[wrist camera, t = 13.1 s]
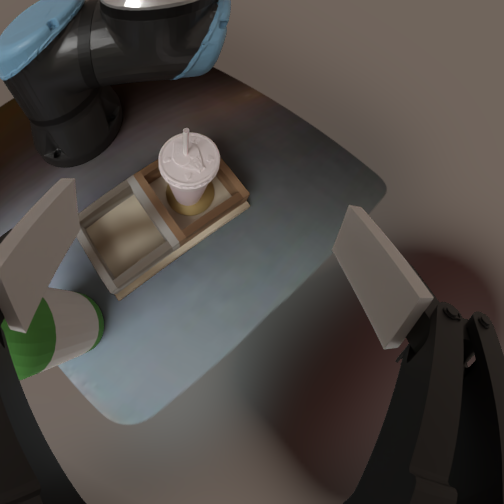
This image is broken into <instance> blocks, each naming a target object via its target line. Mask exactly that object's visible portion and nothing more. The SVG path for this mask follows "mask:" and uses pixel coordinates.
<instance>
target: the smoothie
mask: <svg viewBox="0 0 504 504" xmlns="http://www.w3.org/2000/svg"><path fill="white" fill-rule="evenodd" d="M158 161H159V170H160V173H161V175H162V177H163V178H164V179H165V181H166V182H168V184H169V186H170V188H171V190H172V192H173V194H174V197H175V199H176V200H177V201H178V202H179V203H180V204H182V205H185V206H191V205H194V204H196V203H197V202H198V201H199V200H200V199H201V197H202V195H203V193H204V191H205V189H206V187H207V185H208V183H209V182H211V181H212V179H213V178H214V177H215V176H216V174H217V172H218V170H219V165H220V154H219V150H218V148H217V146H216V145H215V143H214V142H213V141H212V140H211V139H209V138H208V137H206V136H204V135H202V134H199V133H193V132H189V129H188V128H184V129H183V133H181V134H178V135H176V136H174V137H172V138H170V139H169V140H168V141H167V142H166V143H165V144H164V145H163V147H162V148H161V150H160V153H159V159H158Z"/></svg>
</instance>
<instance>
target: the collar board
mask: <svg viewBox="0 0 504 504" xmlns="http://www.w3.org/2000/svg"><path fill="white" fill-rule="evenodd" d="M249 195H250V193H249V192H248V191H247V190H246V188H245V187H244V186H243V184H242V183H241V182H240V181H239V179H238V178H237V177H236V176H235V174H234V173H233V172H232V171H231V169H230V168H229V167H228V166H227V164H226V163H225V162H224V161H223V159H222V158H221V157H220V165H219V170H218V172H217V174H216V176H215V177H214V178H213V179H212V181H211V182H209V183H208V185H207V187H206V189H205V191H204V193H203V195H202V197H201V199H200V200H199V201H198V202H197V203H196V204H194V205H191V206H185V205H182V204H180V203H179V202H178V201H177V200H176V199H175V197H174V194H173V192H172V190H171V188H170V186H169V184H168V182H166V181H165V179H164V178H163V177H162V175H161V173H160V170H159V161H158V160H156V161H154V162H153V163H151V164H150V165H148V166H146V167H145V168H143V169H142V170H140V171H139V172H137V173H135V174H134V175H132V176H131V177H129V178H128V179H126V180H125V181H123V182H122V183H120V184H119V185H117V186H116V187H115V188H113V189H112V190H110V191H109V192H107V193H106V194H105V195H103V196H102V197H100V198H99V199H98V200H96V201H95V202H93V203H92V204H91V205H89V206H88V207H87V208H85V209H84V210H83V211H81V212H80V213H79V214H78V215H79V223H80V231H79V233H78V235H77V236H76V237H77V238H78V240H79V242H80V244H81V246H82V247H83V249H84V251H85V253H86V254H87V256H88V258H89V259H90V261H91V263H92V264H93V266H94V268H95V269H96V271H97V273H98V274H99V276H100V278H101V279H102V281H103V282H104V284H105V285H106V287H107V289H108V290H109V292H110V293H112V294H114V295H115V296H116V298H117V299H118V301H121V300H122V299H123V298H124V297H126V296H127V295H128V294H130V293H131V292H132V291H134V290H135V289H136V288H138V287H139V286H140V285H142V284H143V283H144V282H146V281H147V280H148V279H150V278H151V277H152V276H154V275H155V274H156V273H158V272H159V271H161V270H162V269H163V268H165V267H166V266H167V265H169V264H170V263H171V262H173V261H174V260H176V259H177V258H178V257H180V256H181V255H182V254H184V253H185V252H187V251H188V250H189V249H191V248H192V247H194V246H195V245H196V244H198V243H199V242H201V241H202V240H203V239H205V238H206V237H208V236H209V235H210V234H212V233H213V232H215V231H216V230H218V229H219V228H220V227H222V226H223V225H225V224H226V223H228V222H229V221H230V220H232V219H233V218H235V217H236V216H238V215H239V214H241V213H242V212H244V211H245V210H246V209H248V208H249V207H250V205H249V203H248V202H247V201H246V200H247V198H248V197H249Z"/></svg>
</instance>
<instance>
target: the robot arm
mask: <svg viewBox="0 0 504 504" xmlns="http://www.w3.org/2000/svg"><path fill="white" fill-rule="evenodd" d="M230 10H231V0H40V1H38V2H36V3H35V4H33V5H32V6H31V7H29V8H28V9H26V10H25V11H24V12H22V13H21V14H20V15H19V16H18V17H17V18H15V19H14V20H13V21H12V22H11V23H10V25H9V26H8V27H7V28H6V29H5V30H4V32H3V33H2V34H1V36H0V78H1V79H2V80H3V81H4V83H5V84H6V86H7V87H8V89H9V91H10V92H11V93H12V95H13V97H14V98H15V100H16V101H17V103H18V104H19V106H20V107H21V108H22V110H23V111H24V113H25V114H26V116H27V117H28V119H29V120H30V124H31V130H32V135H33V141H34V145H35V147H36V149H37V151H38V153H39V154H40V155H41V156H42V158H43V159H44V160H45V161H46V162H47V163H49V164H51V165H53V166H56V167H73V166H77V165H80V164H83V163H85V162H87V161H89V160H91V159H93V158H94V157H96V156H97V155H99V154H100V153H101V152H102V151H104V150H105V149H106V148H107V147H108V146H109V145H110V143H111V142H112V141H113V140H114V138H115V137H116V135H117V133H118V131H119V129H120V126H121V123H122V116H123V114H122V107H121V103H120V100H119V97H118V95H117V94H116V92H115V91H114V90H113V89H112V88H111V87H110V85H117V84H125V83H133V82H143V81H155V80H177V79H179V78H184V77H194V76H201V75H203V74H205V73H207V72H208V71H209V70H210V69H211V68H212V67H213V66H214V64H215V62H216V61H217V59H218V57H219V54H220V52H221V49H222V46H223V43H224V40H225V37H226V32H227V28H226V25H227V23H228V21H229V16H230ZM79 231H80V223H79V215H78V207H77V197H76V186H75V178H61V179H60V180H59V181H58V182H57V183H56V184H55V185H54V186H53V187H52V188H51V189H50V190H49V191H48V192H47V193H46V194H45V195H44V196H43V197H42V198H41V199H40V200H39V201H38V202H37V203H36V204H35V205H34V206H33V207H32V208H31V209H30V210H29V211H28V212H27V213H26V215H25V216H24V217H23V218H22V219H21V220H20V221H19V222H18V223H17V225H16V226H15V227H14V228H13V229H10V230H9V231H8V232H6V233H5V234H4V235H2V236H1V237H0V504H86V503H85V502H84V501H83V499H82V498H81V497H80V495H79V494H78V492H77V491H76V489H75V488H74V487H73V485H72V484H71V482H70V481H69V479H68V478H67V476H66V474H65V473H64V471H63V470H62V468H61V466H60V465H59V463H58V461H57V460H56V458H55V456H54V454H53V453H52V451H51V449H50V447H49V446H48V444H47V442H46V440H45V438H44V436H43V434H42V432H41V430H40V428H39V426H38V424H37V422H36V420H35V417H34V415H33V413H32V411H31V409H30V406H29V404H28V402H27V399H26V397H25V394H24V392H23V389H22V387H21V384H20V381H19V379H18V376H17V373H16V370H15V367H14V364H13V361H12V358H11V355H10V352H9V348H8V345H7V341H6V338H5V334H4V331H3V329H2V327H1V324H2V322H3V320H4V318H5V320H6V322H7V324H8V326H9V328H10V330H14V331H18V332H22V333H26V332H27V330H28V328H29V325H30V323H31V321H32V319H33V316H34V314H35V312H36V310H37V308H38V306H39V304H40V301H41V299H42V297H43V295H44V293H45V291H46V289H47V287H48V285H49V284H50V282H51V280H52V278H53V276H54V274H55V272H56V270H57V269H58V267H59V265H60V263H61V261H62V260H63V258H64V256H65V254H66V253H67V251H68V249H69V248H70V246H71V244H72V243H73V241H74V239H75V238H76V236H77V235H78V233H79ZM332 251H333V253H334V255H335V257H336V258H337V260H338V262H339V264H340V265H341V267H342V269H343V271H344V273H345V275H346V276H347V278H348V280H349V282H350V284H351V285H352V287H353V289H354V291H355V293H356V295H357V297H358V299H359V301H360V303H361V304H362V306H363V308H364V310H365V312H366V314H367V316H368V318H369V320H370V322H371V324H372V326H373V328H374V330H375V332H376V334H377V336H378V338H379V340H380V342H381V344H382V346H383V348H384V349H390V348H398V347H399V346H400V344H401V343H402V342H403V340H404V339H405V338H407V340H408V342H409V344H408V346H407V347H406V348H405V350H404V351H403V352H402V353H401V354H400V355H399V357H398V358H397V360H396V362H398V361H399V360H400V359H402V358H403V359H402V363H401V367H400V371H399V375H398V378H397V382H396V385H395V389H394V392H393V396H392V399H391V402H390V405H389V408H388V411H387V414H386V417H385V420H384V423H383V426H382V428H381V431H380V434H379V437H378V439H377V442H376V444H375V447H374V449H373V452H372V454H371V456H370V459H369V461H368V464H367V466H366V468H365V471H364V473H363V475H362V477H361V479H360V481H359V483H358V485H357V487H356V489H355V491H354V493H353V494H352V495H351V496H350V497H349V498H348V499H347V500H346V501H345V502H344V503H343V504H504V356H503V352H502V349H501V346H500V343H499V340H498V337H497V334H496V332H495V329H494V326H493V324H492V322H491V321H490V319H489V318H488V316H486V315H485V314H483V313H481V312H474V314H473V315H472V316H471V318H470V319H469V320H467V319H464V318H462V316H461V314H460V313H459V311H458V310H457V309H456V308H455V307H454V306H452V305H451V304H449V303H446V302H441V303H439V301H438V300H437V299H436V297H435V296H434V294H433V293H432V292H431V290H430V289H429V287H428V286H427V285H426V283H424V282H423V279H422V278H421V277H420V276H419V274H418V273H417V271H416V270H415V269H414V268H413V266H411V265H410V264H409V263H408V262H407V261H406V260H405V259H404V257H403V256H402V255H401V253H399V251H398V250H397V248H396V247H395V246H394V245H393V243H392V242H391V241H390V240H389V239H388V237H387V236H386V235H385V234H384V233H383V231H382V230H381V229H380V228H379V227H378V226H377V224H376V223H375V222H374V221H373V220H372V219H371V218H370V216H369V215H368V214H367V213H366V212H365V211H364V210H363V208H362V207H357V206H352V205H349V206H348V209H347V211H346V214H345V217H344V220H343V222H342V225H341V228H340V230H339V233H338V236H337V238H336V241H335V243H334V246H333V249H332ZM474 355H475V357H476V361H475V362H474V363H473V364H472V365H471V366H470V367H468V366H467V362H468V361H469V360H470V359H471V358H472V356H474Z"/></svg>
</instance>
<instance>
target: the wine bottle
mask: <svg viewBox="0 0 504 504" xmlns="http://www.w3.org/2000/svg"><path fill="white" fill-rule="evenodd" d="M1 327H2V329H3V331H4V334H5V338H6V341H7V345H8V348H9V352H10V355H11V358H12V361H13V364H14V367H15V370H16V373H17V376H18V379H19V380H22V379H25V378H27V377H30V376H32V375H35V374H38V373H40V372H42V371H45V370H47V369H49V368H52V367H54V366H57V365H59V364H61V363H64V362H66V361H68V360H71V359H73V358H75V357H78V356H80V355H82V354H84V353H86V352H88V351H90V350H92V349H93V348H95V347H96V345H97V344H98V343H99V342H100V340H101V338H102V336H103V331H104V319H103V316H102V312H101V310H100V309H99V307H98V305H97V304H96V303H95V302H94V301H93V300H92V299H91V298H90V297H88V296H87V295H84V294H81V293H78V292H73V291H67V290H61V289H55V288H49V287H47V289H46V291H45V293H44V295H43V297H42V299H41V301H40V304H39V306H38V308H37V310H36V312H35V314H34V316H33V319H32V321H31V323H30V325H29V328H28V330H27V332H26V333H22V332H18V331H14V330H10V328H9V326H8V324H7V322H6V320H5V318H4V320H3V322H2V324H1Z"/></svg>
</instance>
